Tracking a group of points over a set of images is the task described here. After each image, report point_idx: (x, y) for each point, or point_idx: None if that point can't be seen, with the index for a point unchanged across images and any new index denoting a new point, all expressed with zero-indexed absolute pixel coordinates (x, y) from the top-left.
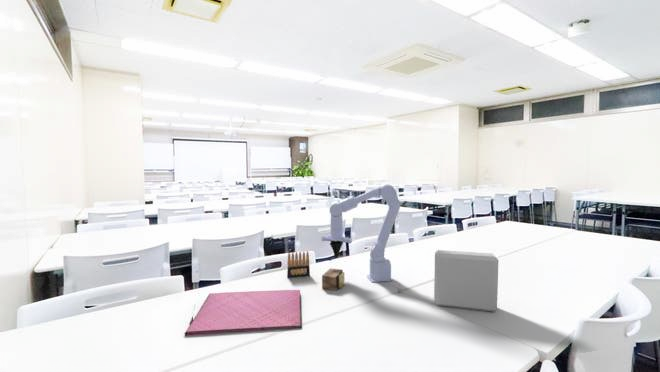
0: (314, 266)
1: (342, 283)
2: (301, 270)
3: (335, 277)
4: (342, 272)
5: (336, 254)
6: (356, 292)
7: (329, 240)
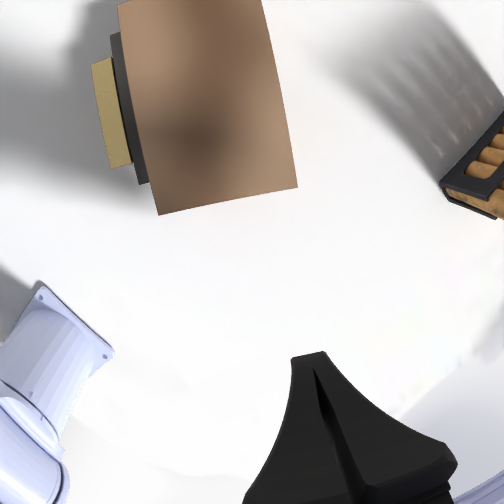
0: (457, 328)
1: None
2: (497, 159)
3: (119, 10)
4: (125, 157)
5: (304, 376)
6: (34, 101)
7: (473, 497)
